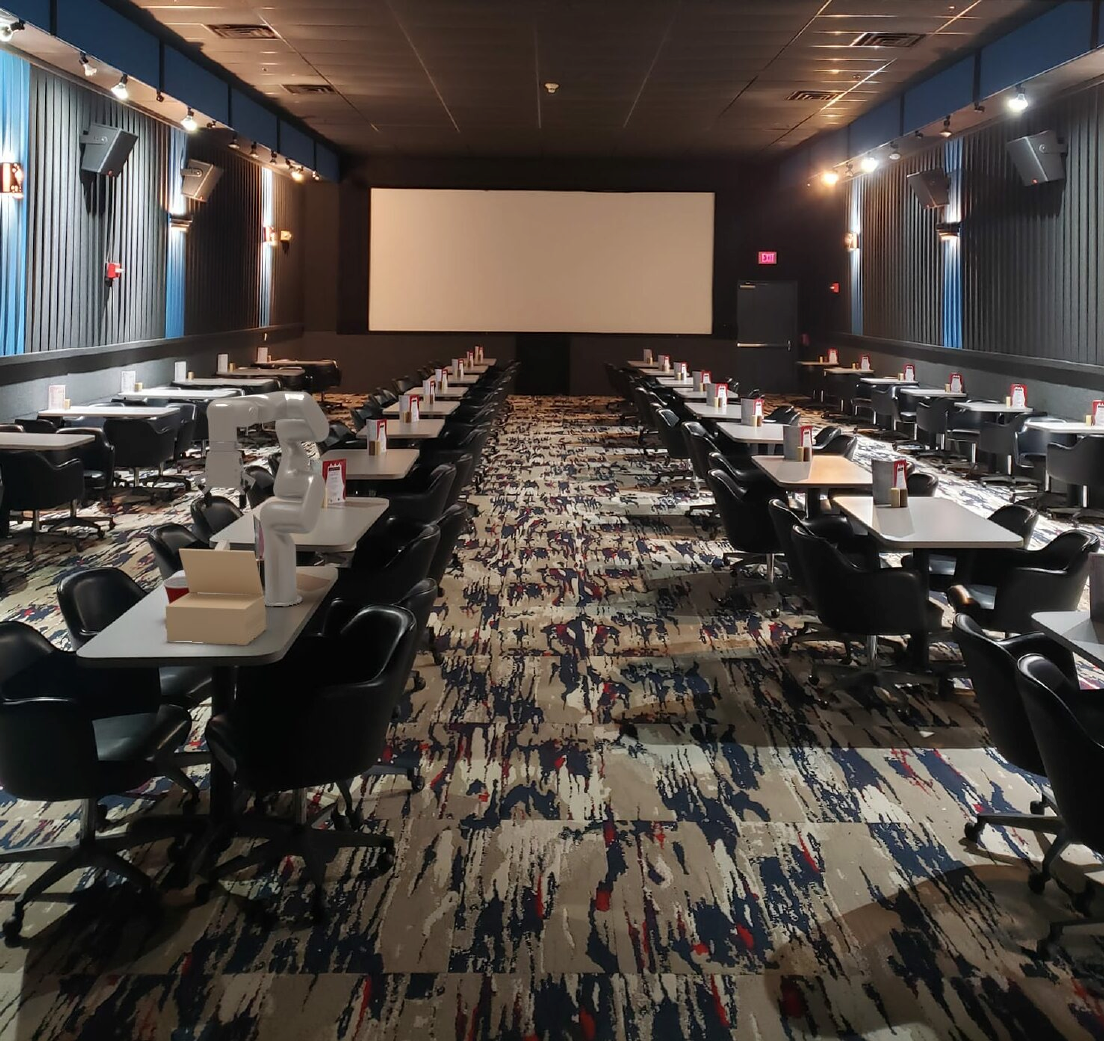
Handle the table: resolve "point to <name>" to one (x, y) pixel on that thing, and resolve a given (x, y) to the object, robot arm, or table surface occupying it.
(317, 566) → the table surface
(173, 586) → the plastic cup
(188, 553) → the flap
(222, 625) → the carton
